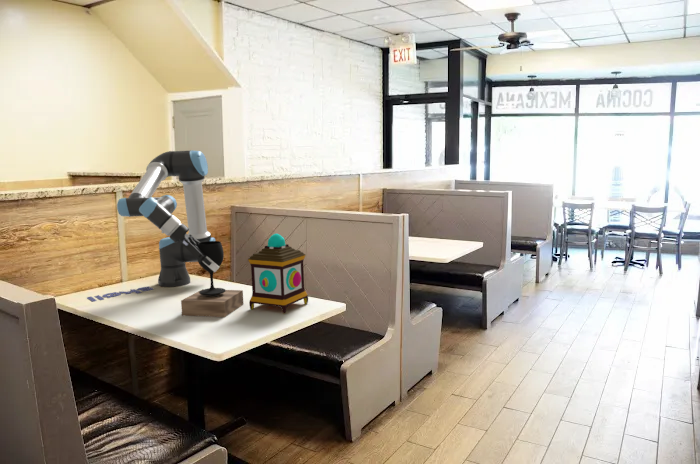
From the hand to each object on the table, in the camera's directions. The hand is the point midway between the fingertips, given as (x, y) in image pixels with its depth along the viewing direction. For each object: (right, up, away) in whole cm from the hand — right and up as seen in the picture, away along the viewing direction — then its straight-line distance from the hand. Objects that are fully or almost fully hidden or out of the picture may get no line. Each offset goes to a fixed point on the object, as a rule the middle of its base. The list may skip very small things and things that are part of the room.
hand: (218, 266), depth 219 cm
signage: (-52, -15, +33) cm, 63 cm away
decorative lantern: (+24, -17, +5) cm, 29 cm away
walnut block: (-2, -17, +2) cm, 18 cm away
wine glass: (-3, -10, +1) cm, 11 cm away
